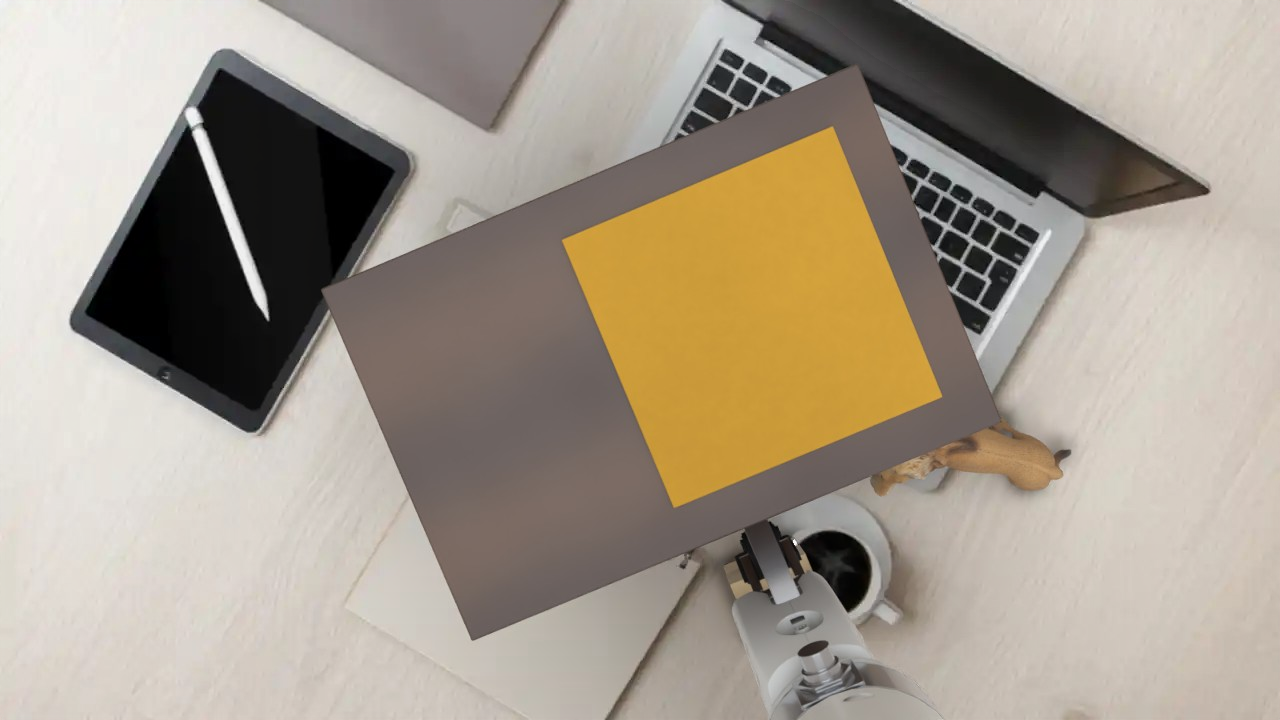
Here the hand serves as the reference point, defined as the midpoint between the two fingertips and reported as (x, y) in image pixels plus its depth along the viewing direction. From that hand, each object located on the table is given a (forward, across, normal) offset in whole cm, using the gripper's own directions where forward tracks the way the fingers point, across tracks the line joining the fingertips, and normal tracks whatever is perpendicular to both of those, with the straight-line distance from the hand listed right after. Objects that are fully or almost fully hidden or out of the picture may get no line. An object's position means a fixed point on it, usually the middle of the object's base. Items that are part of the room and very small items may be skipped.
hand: (795, 629), depth 61 cm
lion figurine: (+12, -3, +14) cm, 18 cm away
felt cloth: (-14, -18, +3) cm, 23 cm away
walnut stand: (+12, -17, -1) cm, 21 cm away
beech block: (+11, +1, 0) cm, 11 cm away
